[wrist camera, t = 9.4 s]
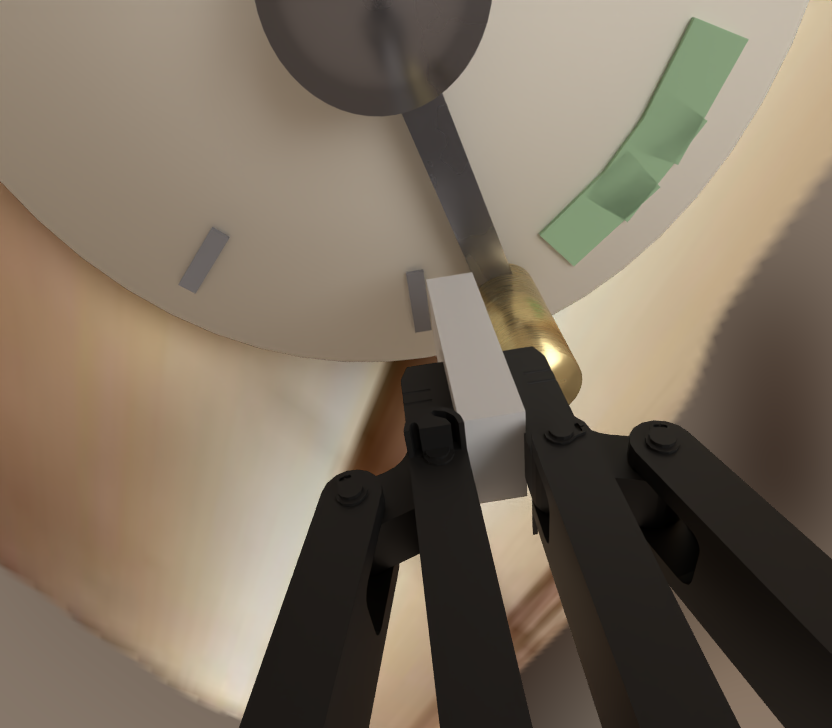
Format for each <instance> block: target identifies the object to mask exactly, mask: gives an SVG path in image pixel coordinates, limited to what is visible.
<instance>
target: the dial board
mask: <svg viewBox="0 0 832 728" xmlns="http://www.w3.org/2000/svg"><path fill="white" fill-rule="evenodd" d="M808 3H809V0H492V4H491V9H490V13H489V18H488V22H487V25H486V28H485V31H484V34H483V37H482V39H481V42H480V44H479V46H478V48H477V50H476V52H475V54H474V56H473V57H472V59H471V61H470V62H469V64H468V66H467V67H466V68H465V70H464V71H463V72H462V74H461V75H460V76H459V77H458V79H457V80H456V81H455V82H454V83H453V84H452V85H451V86H450V87H449V88H448V89H447V90H445V91H444V92H443V93H442V94H443V96H444V99H445V101H446V104H447V106H448V109H449V112H450V114H451V117H452V119H453V122H454V124H455V127H456V130H457V132H458V135H459V137H460V140H461V143H462V145H463V148H464V150H465V153H466V155H467V158H468V161H469V163H470V166H471V168H472V171H473V173H474V176H475V179H476V181H477V184H478V186H479V189H480V191H481V194H482V197H483V199H484V202H485V204H486V207H487V210H488V212H489V215H490V217H491V220H492V222H493V225H494V228H495V230H496V233H497V235H498V238H499V240H500V243H501V246H502V248H503V251H504V253H505V256H506V258H507V261H508V263H510V264H515V265H518V266H520V267H522V268H524V269H525V270H526V271H527V272H528V273H529V274H530V276H531V277H532V279H533V281H534V283H535V285H536V286H537V288H538V290H539V292H540V294H541V296H542V298H543V300H544V302H545V303H546V305H547V307H548V309H549V311H550V313H551V315H554V314H555V313H557V312H559V311H560V310H562V309H564V308H566V307H567V306H569V305H571V304H573V303H574V302H576V301H578V300H580V299H581V298H583V297H585V296H586V295H588V294H589V293H591V292H592V291H593V290H595V289H596V288H598V287H599V286H600V285H602V284H603V283H604V282H606V281H607V280H609V279H610V278H611V277H613V276H614V275H616V274H617V273H618V272H620V271H621V270H623V269H624V268H625V267H626V266H627V265H628V264H630V263H631V262H632V261H633V260H634V259H635V258H636V257H637V256H639V255H640V254H641V253H642V252H643V251H644V250H645V249H647V248H648V247H649V246H650V245H651V244H652V243H653V242H655V241H656V240H657V239H658V238H659V237H660V236H661V235H662V234H663V233H664V232H665V231H666V230H667V229H668V228H669V227H670V226H671V224H672V223H673V222H674V221H675V220H676V219H677V218H678V217H679V216H680V215H681V214H682V213H683V212H684V211H685V209H686V208H687V207H688V206H689V205H690V204H691V203H692V202H693V201H694V200H695V199H696V198H697V196H698V195H699V194H700V192H701V191H702V190H703V188H704V187H705V186H706V185H707V183H708V182H709V181H710V179H711V178H712V177H713V175H714V174H715V173H716V172H717V170H718V169H719V168H720V166H721V165H722V164H723V162H724V161H725V160H726V159H727V157H728V156H729V155H730V153H731V152H732V150H733V149H734V147H735V145H736V144H737V142H738V141H739V139H740V137H741V136H742V134H743V133H744V131H745V129H746V128H747V126H748V125H749V123H750V122H751V120H752V118H753V117H754V115H755V114H756V112H757V110H758V109H759V107H760V106H761V104H762V102H763V100H764V98H765V97H766V95H767V93H768V91H769V89H770V87H771V85H772V83H773V81H774V79H775V77H776V75H777V73H778V71H779V69H780V67H781V65H782V63H783V61H784V59H785V57H786V55H787V53H788V51H789V49H790V47H791V45H792V43H793V40H794V38H795V35H796V33H797V30H798V28H799V25H800V23H801V20H802V18H803V15H804V13H805V10H806V8H807V5H808ZM0 181H1V182H2V183H3V184H4V185H5V186H6V187H7V189H8V190H9V191H10V192H11V193H12V194H13V195H14V196H15V197H16V198H17V199H18V200H19V201H20V202H21V203H22V204H23V205H24V206H25V207H26V208H27V209H28V210H29V211H30V212H31V213H32V214H33V215H34V216H35V217H36V219H37V220H39V221H40V222H41V223H42V224H43V225H44V226H46V227H47V228H48V229H49V230H50V231H51V232H53V233H54V234H55V235H56V236H57V237H58V238H60V239H61V240H62V241H63V242H64V243H65V244H67V245H68V246H69V247H70V248H71V249H72V250H74V251H75V252H76V253H77V254H78V255H79V256H81V257H82V258H83V259H84V260H86V261H87V262H89V263H90V264H92V265H93V266H94V267H96V268H97V269H99V270H100V271H102V272H103V273H104V274H106V275H107V276H109V277H110V278H112V279H113V280H114V281H116V282H117V283H119V284H120V285H122V286H123V287H124V288H126V289H127V290H129V291H131V292H133V293H134V294H136V295H138V296H140V297H141V298H143V299H145V300H147V301H149V302H150V303H152V304H154V305H156V306H157V307H159V308H161V309H163V310H164V311H166V312H168V313H170V314H172V315H174V316H176V317H178V318H181V319H183V320H185V321H187V322H190V323H192V324H194V325H197V326H199V327H201V328H203V329H206V330H208V331H210V332H212V333H215V334H217V335H221V336H224V337H227V338H230V339H233V340H236V341H239V342H242V343H245V344H248V345H251V346H255V347H258V348H262V349H266V350H271V351H276V352H280V353H285V354H290V355H294V356H299V357H305V358H315V359H324V360H333V361H343V362H388V361H398V360H407V359H417V358H426V357H431V356H436V350H435V342H434V335H433V327H432V320H431V312H430V305H429V297H428V290H427V282H426V279H432V278H439V277H445V276H451V275H458V274H464V273H470V272H471V271H470V269H469V266H468V264H467V262H466V259H465V257H464V255H463V253H462V250H461V248H460V246H459V243H458V241H457V239H456V237H455V234H454V232H453V230H452V227H451V225H450V223H449V221H448V218H447V216H446V214H445V211H444V209H443V207H442V205H441V202H440V200H439V198H438V196H437V193H436V191H435V189H434V186H433V184H432V182H431V180H430V177H429V175H428V173H427V170H426V168H425V166H424V164H423V161H422V159H421V157H420V154H419V152H418V150H417V148H416V145H415V143H414V141H413V138H412V136H411V134H410V132H409V129H408V127H407V125H406V123H405V120H404V118H403V116H402V113H401V114H397V115H390V116H364V115H357V114H353V113H349V112H346V111H343V110H340V109H337V108H335V107H333V106H331V105H329V104H327V103H325V102H323V101H322V100H320V99H318V98H317V97H315V96H314V95H312V94H311V93H310V92H309V91H307V90H306V89H305V88H304V87H302V86H301V85H300V84H299V83H298V82H297V81H296V80H295V79H294V78H293V77H292V76H291V75H290V73H289V72H288V71H287V69H286V68H285V67H284V66H283V64H282V63H281V62H280V60H279V59H278V57H277V55H276V54H275V52H274V50H273V49H272V47H271V45H270V43H269V41H268V39H267V37H266V34H265V32H264V30H263V27H262V24H261V22H260V19H259V16H258V13H257V8H256V4H255V0H0Z"/></svg>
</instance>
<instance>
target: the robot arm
mask: <svg viewBox="0 0 832 728" xmlns="http://www.w3.org/2000/svg"><path fill="white" fill-rule="evenodd" d="M426 282H427V290H428V297H429V305H430V312H431V320H432V327H433V335H434V342H435V350H436V355H437V360H438V363H431V364H425V365H419V366H413V367H407V368H406V370H405V373H404V375H403V377H402V379H401V386H402V394H403V403H404V411H405V420H406V423H405V427H404V436H405V441H406V446H407V453H406V456H405V457H404V458H403V460H402V461H401V462H400V463H399V464H398V465H397V466H396V467H394V468H392V469H391V470H389V471H387V472H385V473H383V474H380V475H378V476H375V475H373V474H372V473H370V472H368V471H363V470H351V471H346V472H343V473H341V474H339V475H336V476H335V477H334V478H333V479H331V480H330V481H329V482H328V483H327V484H326V486H325V488H324V489H323V491H322V493H321V496H320V499H319V502H318V504H317V507H316V510H315V513H314V516H313V519H312V521H311V524H310V527H309V530H308V533H307V536H306V539H305V541H304V544H303V547H302V550H301V553H300V556H299V558H298V561H297V564H296V567H295V570H294V573H293V576H292V578H291V581H290V584H289V587H288V590H287V593H286V595H285V598H284V601H283V604H282V607H281V610H280V613H279V615H278V618H277V621H276V624H275V627H274V630H273V633H272V635H271V638H270V641H269V644H268V647H267V650H266V652H265V655H264V658H263V661H262V664H261V667H260V670H259V672H258V675H257V678H256V681H255V684H254V687H253V689H252V692H251V695H250V698H249V701H248V704H247V707H246V709H245V712H244V715H243V718H242V721H241V724H240V726H239V728H369V724H370V719H371V713H372V708H373V703H374V698H375V692H376V687H377V682H378V676H379V671H380V666H381V661H382V655H383V650H384V645H385V640H386V634H387V629H388V624H389V619H390V613H391V608H392V603H393V597H394V592H395V587H396V582H397V576H398V571H399V563H401V562H403V561H405V560H407V559H409V558H411V557H414V556H416V555H418V554H420V559H421V568H422V576H423V585H424V594H425V602H426V611H427V620H428V628H429V637H430V646H431V654H432V663H433V671H434V680H435V689H436V697H437V706H438V715H439V723H440V728H533V727H532V723H531V719H530V715H529V710H528V706H527V702H526V697H525V693H524V689H523V685H522V681H521V676H520V672H519V668H518V663H517V659H516V655H515V651H514V646H513V642H512V638H511V634H510V629H509V625H508V621H507V617H506V612H505V608H504V604H503V600H502V595H501V591H500V587H499V583H498V578H497V574H496V570H495V566H494V561H493V557H492V553H491V549H490V544H489V540H488V536H487V532H486V527H485V523H484V519H483V515H482V510H481V506H480V503H486V502H492V501H499V500H505V499H511V498H517V497H524V496H527V485H528V488H529V491H530V494H531V497H532V527H533V535H535V534H538V532H539V535H540V538H541V541H542V544H543V547H544V550H545V553H546V556H547V559H548V562H549V566H550V569H551V572H552V575H553V578H554V581H555V584H556V587H557V590H558V593H559V596H560V599H561V602H562V606H563V609H564V612H565V615H566V618H567V621H568V624H569V627H570V630H571V633H572V636H573V639H574V642H575V645H576V648H577V652H578V655H579V658H580V661H581V664H582V667H583V670H584V673H585V676H586V679H587V682H588V685H589V688H590V691H591V695H592V698H593V701H594V704H595V707H596V710H597V713H598V716H599V719H600V722H601V725H602V728H741V727H740V726H739V724H738V721H737V719H736V717H735V715H734V713H733V712H732V710H731V708H730V706H729V704H728V702H727V700H726V698H725V696H724V694H723V692H722V690H721V688H720V686H719V684H718V682H717V680H716V678H715V676H714V674H713V672H712V670H711V668H710V666H709V664H708V662H707V660H706V658H705V656H704V654H703V652H702V650H701V648H700V646H699V644H698V642H697V640H696V638H695V636H694V635H693V632H692V630H691V628H690V626H689V624H688V622H687V620H686V618H685V616H684V614H683V612H682V610H681V608H680V606H679V605H678V602H677V600H676V598H675V597H674V594H673V592H672V590H671V588H672V589H673V590H674V592H675V593H676V594H677V595H678V597H679V598H680V599H681V600H682V601H683V603H684V604H685V605H686V606H687V608H688V609H689V610H690V611H691V612H692V614H693V615H694V616H695V617H696V619H697V620H698V621H699V622H700V624H701V625H702V626H703V627H704V629H705V630H706V631H707V632H708V633H709V635H710V636H711V637H712V639H713V640H714V641H715V642H716V643H717V645H718V646H719V647H720V648H721V649H722V651H723V652H724V653H725V654H726V656H727V657H728V658H729V659H730V661H731V662H732V663H733V664H734V666H735V667H736V668H737V669H738V671H739V672H740V673H741V674H742V675H743V677H744V678H745V679H746V680H747V682H748V683H749V684H750V685H751V687H752V688H753V689H754V690H755V692H756V693H757V694H758V695H759V697H760V698H761V699H762V700H763V701H764V703H765V704H766V705H767V706H768V708H769V709H770V710H771V711H772V713H773V714H774V715H775V716H776V717H777V719H778V720H779V721H780V722H781V724H782V725H783V726H784V727H785V728H832V559H831V558H830V557H829V556H828V555H826V554H825V553H824V552H823V551H822V550H821V549H820V548H819V547H817V546H816V545H815V544H814V543H813V542H812V541H811V540H810V539H808V538H807V537H806V536H805V535H804V534H803V533H802V532H801V531H799V530H798V529H797V528H796V527H795V526H794V525H793V524H792V523H790V522H789V521H788V520H787V519H786V518H785V517H784V516H782V515H781V514H780V513H779V512H778V511H777V510H776V509H775V508H773V507H772V506H771V505H770V504H769V503H768V502H767V501H766V500H765V499H763V498H762V497H761V496H760V495H759V494H758V493H757V492H756V491H754V490H753V489H752V488H751V487H750V486H749V485H748V484H746V483H745V482H744V481H743V480H742V479H741V478H740V477H739V476H737V475H736V474H735V473H734V472H733V471H732V470H731V469H729V468H728V467H727V466H726V465H725V464H724V463H723V462H722V461H721V460H719V459H718V458H717V457H716V456H715V455H714V454H713V453H712V452H710V451H709V450H708V449H707V448H706V447H705V446H704V445H702V444H701V443H700V442H699V441H698V440H697V439H696V438H695V437H694V436H692V435H691V434H690V433H689V432H688V431H686V430H685V429H683V428H682V427H680V426H678V425H676V424H673V423H669V422H666V421H654V420H653V421H648V422H643V423H641V424H639V425H638V426H636V427H634V428H633V430H632V432H631V433H630V435H629V436H620V435H609V434H602V433H598V432H595V431H592V430H590V428H589V427H588V426H587V425H586V423H585V422H584V421H582V420H580V419H578V418H576V417H575V416H574V415H573V413H572V410H571V408H570V406H569V404H568V402H567V400H566V398H565V396H564V394H563V392H562V390H561V388H560V386H559V384H558V382H557V381H556V377H555V375H554V373H553V371H551V367H550V365H549V363H548V361H547V359H546V357H545V355H543V354H542V353H541V352H539V351H538V350H537V349H535V348H534V347H533V346H530V347H524V348H517V349H511V350H505V351H502V349H501V346H500V344H499V341H498V338H497V336H496V333H495V331H494V328H493V325H492V323H491V320H490V318H489V315H488V312H487V310H486V307H485V304H484V302H483V299H482V297H481V294H480V291H479V289H478V286H477V284H476V281H475V278H474V276H473V273H472V272H470V273H464V274H458V275H451V276H445V277H439V278H432V279H426ZM669 585H670V586H669ZM670 587H671V588H670Z"/></svg>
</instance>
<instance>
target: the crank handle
mask: <svg viewBox="0 0 832 728" xmlns="http://www.w3.org/2000/svg"><path fill="white" fill-rule="evenodd" d="M255 4H256V8H257V13H258V16H259V19H260V22H261V24H262V27H263V30H264V32H265V34H266V37H267V39H268V41H269V43H270V45H271V47H272V49H273V50H274V52H275V54H276V55H277V57H278V59H279V60H280V62H281V63H282V64H283V66H284V67H285V68H286V69H287V71H288V72H289V73H290V75H291V76H292V77H293V78H294V79H295V80H296V81H297V82H298V83H299V84H300V85H301V86H302V87H304V88H305V89H306V90H307V91H309V92H310V93H311V94H312V95H314V96H315V97H317V98H318V99H320V100H322V101H323V102H325V103H327V104H329V105H331V106H333V107H335V108H337V109H340V110H343V111H346V112H349V113H353V114H357V115H364V116H390V115H397V114H401V113H402V116H403V118H404V120H405V123H406V125H407V127H408V129H409V132H410V134H411V136H412V138H413V141H414V143H415V145H416V148H417V150H418V152H419V154H420V157H421V159H422V161H423V164H424V166H425V168H426V170H427V173H428V175H429V177H430V180H431V182H432V184H433V186H434V189H435V191H436V193H437V196H438V198H439V200H440V202H441V205H442V207H443V209H444V211H445V214H446V216H447V218H448V221H449V223H450V225H451V227H452V230H453V232H454V234H455V237H456V239H457V241H458V243H459V246H460V248H461V250H462V253H463V255H464V257H465V259H466V262H467V264H468V266H469V269H470V271H471V272H472V273H473V276H474V278H475V281H476V284H477V286H478V289H479V291H480V294H481V297H482V299H483V302H484V304H485V307H486V310H487V312H488V315H489V318H490V320H491V323H492V325H493V328H494V331H495V333H496V336H497V338H498V341H499V344H500V346H501V349H502V351H505V350H511V349H517V348H524V347H530V346H533V347H534V348H535V349H537V350H538V351H539V352H541V353H542V354H543V355H545V357H546V359H547V361H548V363H549V365H550V367H551V371H553V373H554V375H555V377H556V381H557V382H558V384H559V386H560V388H561V390H562V392H563V394H564V396H565V398H566V400H567V402H568V404H570V403H571V402H572V401H573V400H574V399H575V398H576V396H577V394H578V393H579V391H580V388H581V385H582V373H581V370H580V368H579V366H578V364H577V362H576V360H575V358H574V356H573V354H572V353H571V351H570V349H569V347H568V345H567V343H566V341H565V339H564V337H563V336H562V334H561V332H560V330H559V328H558V326H557V324H556V322H555V320H554V319H553V317H552V315H551V313H550V311H549V309H548V307H547V305H546V303H545V302H544V300H543V298H542V296H541V294H540V292H539V290H538V288H537V286H536V285H535V283H534V281H533V279H532V277H531V276H530V274H529V273H528V272H527V271H526V270H525V269H524V268H522V267H520V266H518V265H515V264H510V263H508V261H507V258H506V256H505V253H504V251H503V248H502V246H501V243H500V240H499V238H498V235H497V233H496V230H495V228H494V225H493V222H492V220H491V217H490V215H489V212H488V210H487V207H486V204H485V202H484V199H483V197H482V194H481V191H480V189H479V186H478V184H477V181H476V179H475V176H474V173H473V171H472V168H471V166H470V163H469V161H468V158H467V155H466V153H465V150H464V148H463V145H462V143H461V140H460V137H459V135H458V132H457V130H456V127H455V124H454V122H453V119H452V117H451V114H450V112H449V109H448V106H447V104H446V101H445V99H444V96H443V94H442V93H443V92H444V91H445V90H447V89H448V88H449V87H450V86H451V85H452V84H453V83H454V82H455V81H456V80H457V79H458V77H459V76H460V75H461V74H462V72H463V71H464V70H465V68H466V67H467V66H468V64H469V62H470V61H471V59H472V57H473V56H474V54H475V52H476V50H477V48H478V46H479V44H480V42H481V39H482V37H483V34H484V31H485V28H486V25H487V22H488V18H489V13H490V9H491V4H492V0H255Z"/></svg>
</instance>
